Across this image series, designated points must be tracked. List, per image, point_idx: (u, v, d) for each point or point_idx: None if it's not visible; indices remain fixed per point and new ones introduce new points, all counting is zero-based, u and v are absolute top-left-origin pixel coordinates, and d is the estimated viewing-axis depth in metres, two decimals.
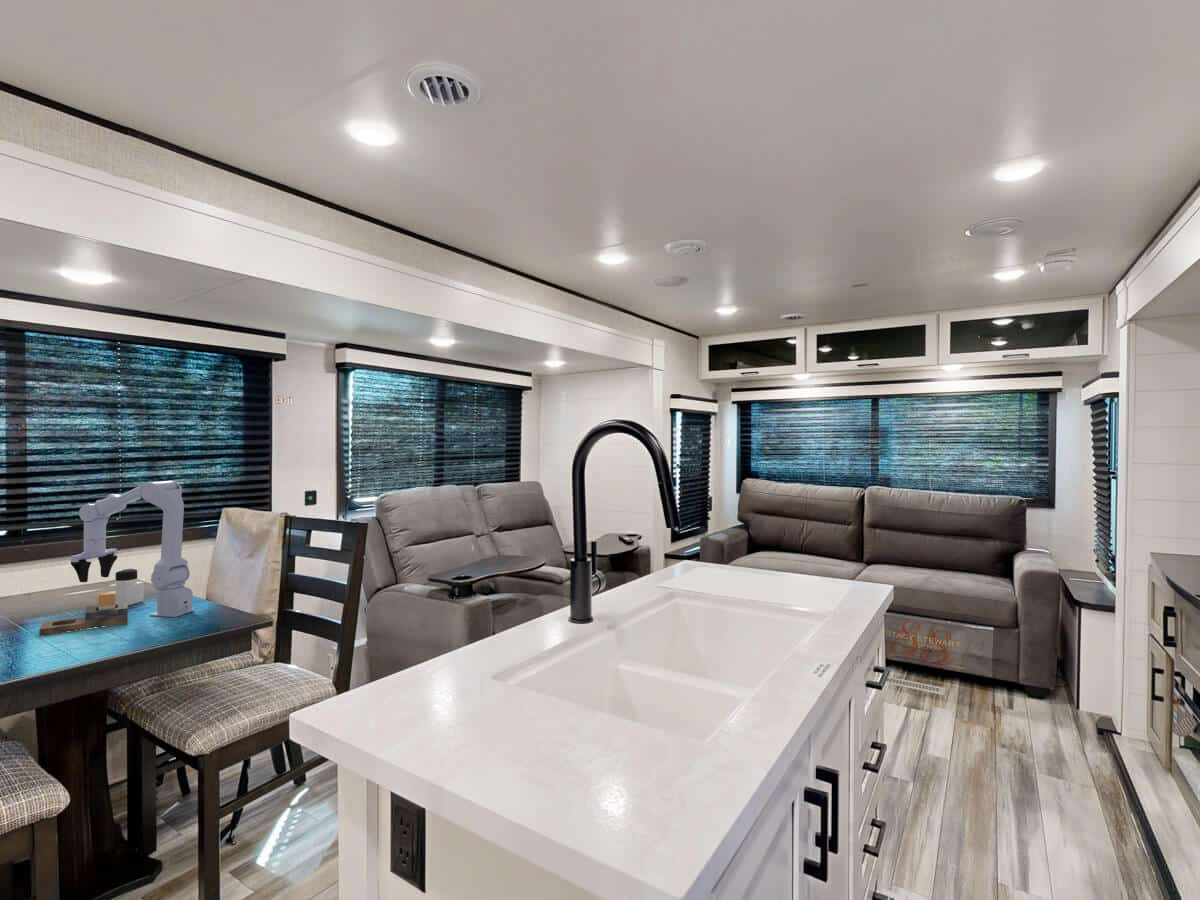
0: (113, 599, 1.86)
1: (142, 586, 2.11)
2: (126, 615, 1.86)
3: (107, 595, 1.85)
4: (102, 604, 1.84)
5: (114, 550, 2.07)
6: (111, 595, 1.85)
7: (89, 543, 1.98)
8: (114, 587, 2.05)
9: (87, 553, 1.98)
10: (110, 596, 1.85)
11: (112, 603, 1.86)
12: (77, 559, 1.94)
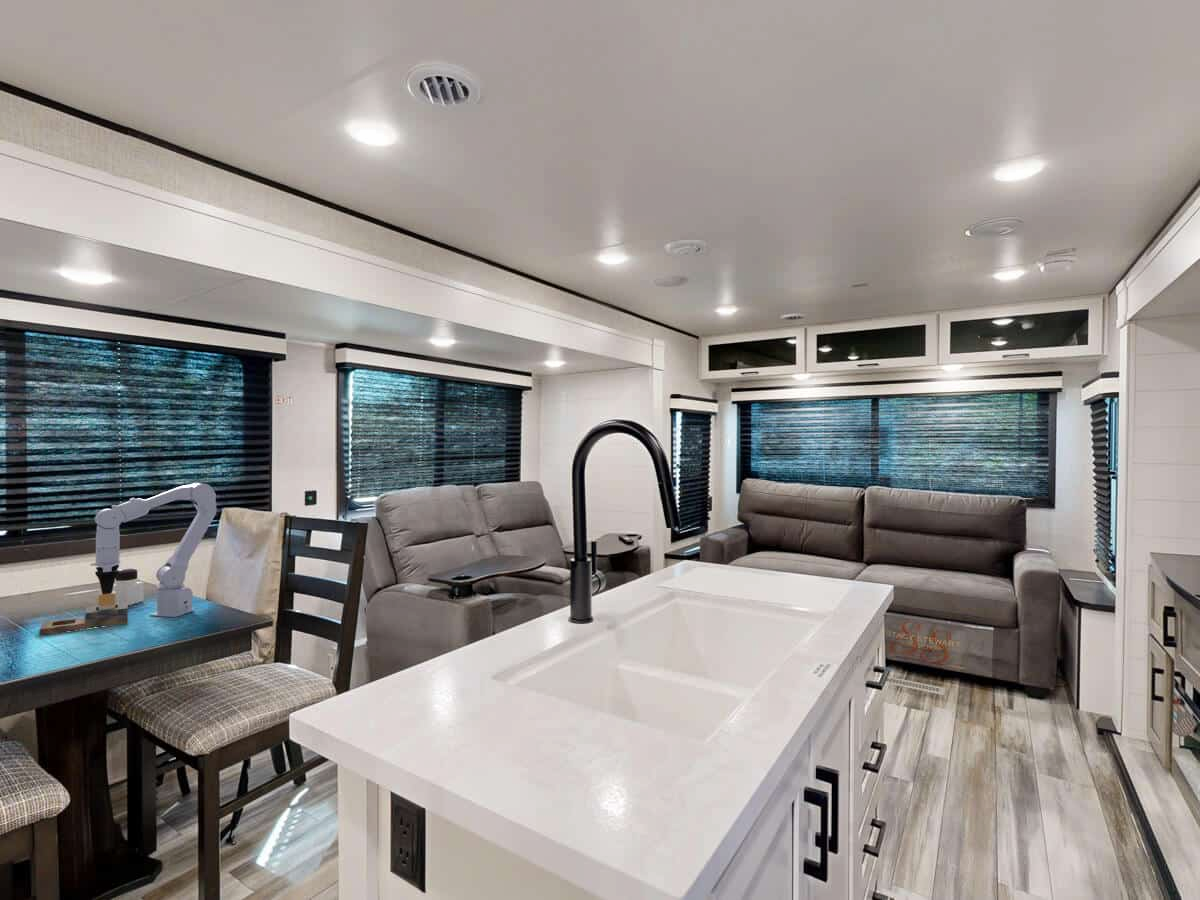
0: (113, 599, 1.86)
1: (142, 586, 2.11)
2: (126, 615, 1.86)
3: (107, 595, 1.85)
4: (102, 604, 1.84)
5: None
6: (111, 595, 1.85)
7: (111, 551, 1.85)
8: (114, 587, 2.05)
9: (108, 562, 1.84)
10: (110, 596, 1.85)
11: (112, 603, 1.86)
12: None
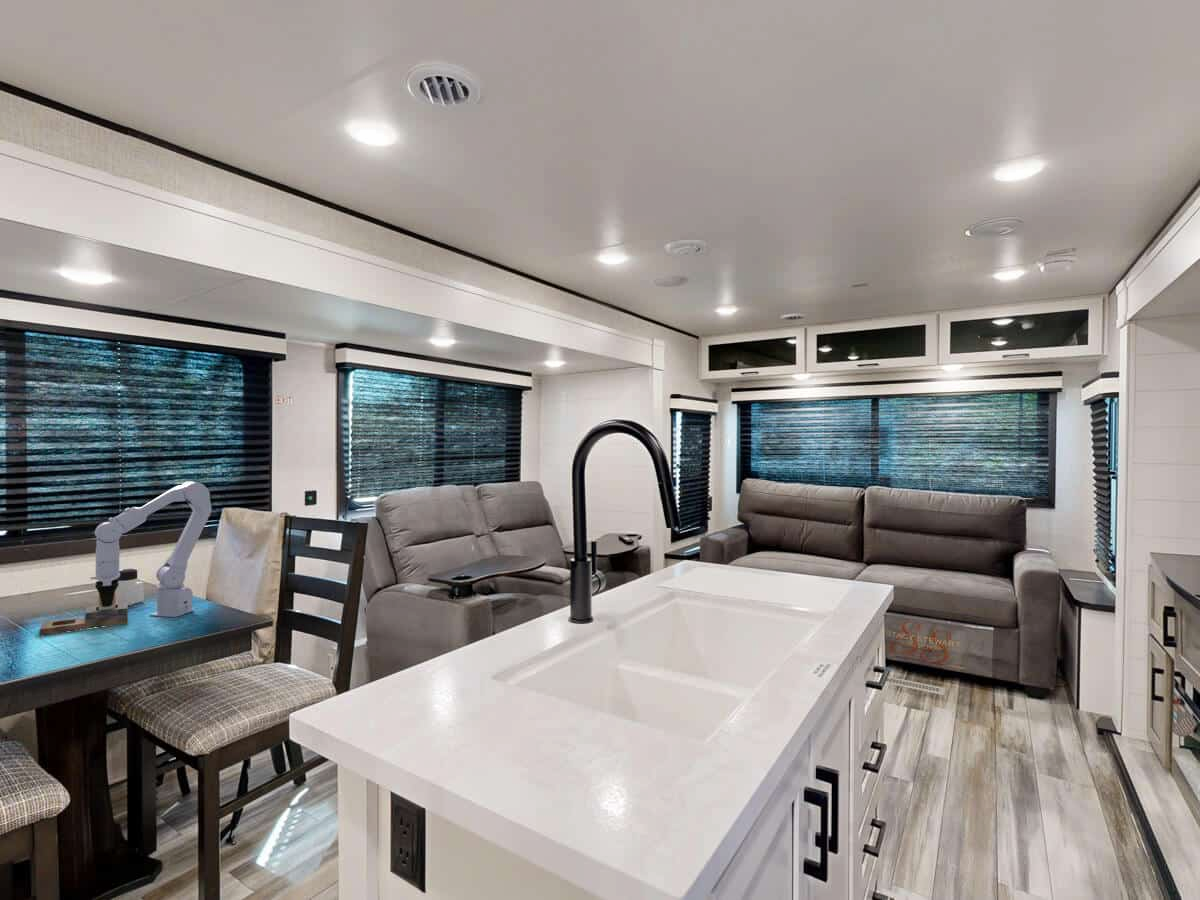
0: (113, 599, 1.86)
1: (142, 586, 2.11)
2: (126, 615, 1.86)
3: None
4: None
5: None
6: None
7: (111, 565, 1.85)
8: None
9: (108, 576, 1.84)
10: None
11: (112, 603, 1.86)
12: (111, 582, 1.81)
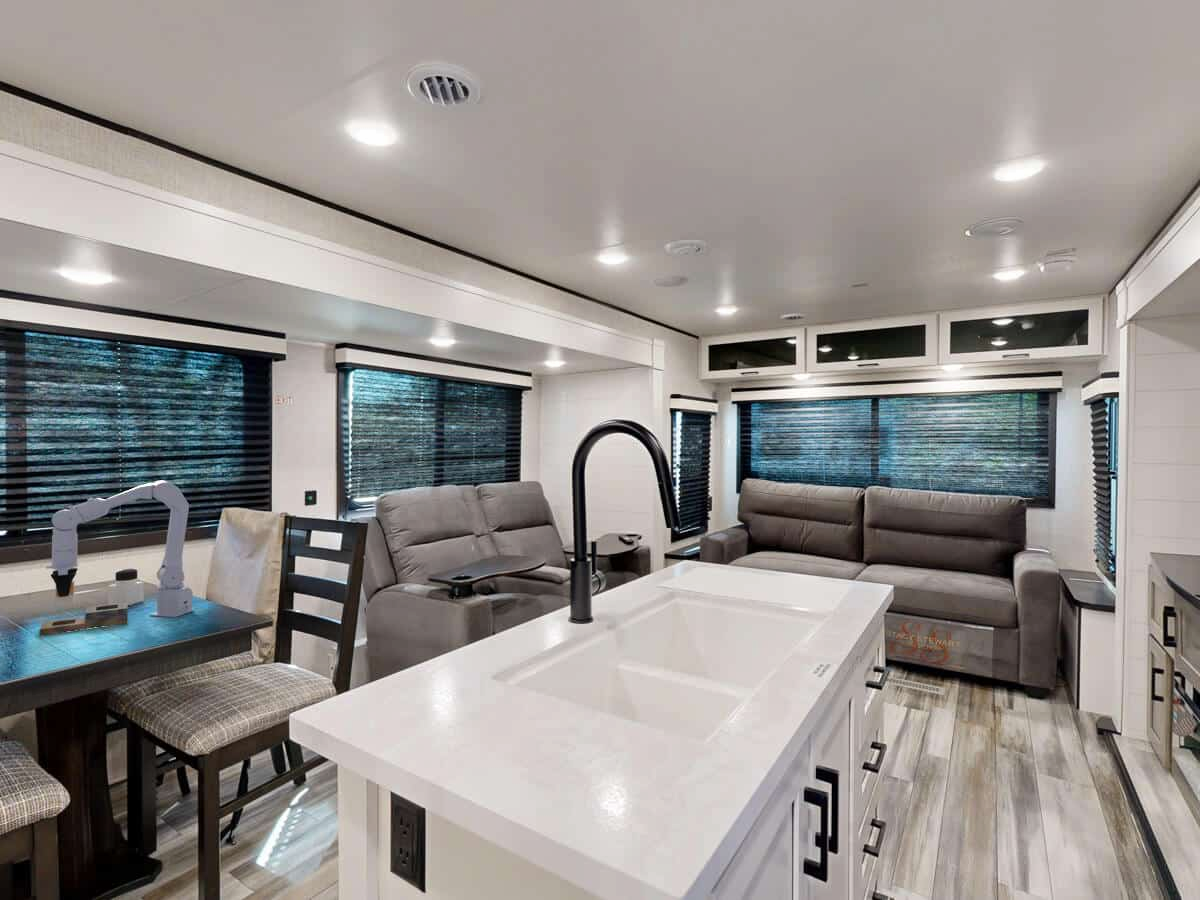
0: (71, 589, 1.79)
1: (142, 586, 2.11)
2: (126, 615, 1.86)
3: None
4: None
5: None
6: None
7: (67, 554, 1.78)
8: (114, 587, 2.05)
9: (65, 565, 1.78)
10: None
11: (70, 593, 1.79)
12: (67, 571, 1.75)
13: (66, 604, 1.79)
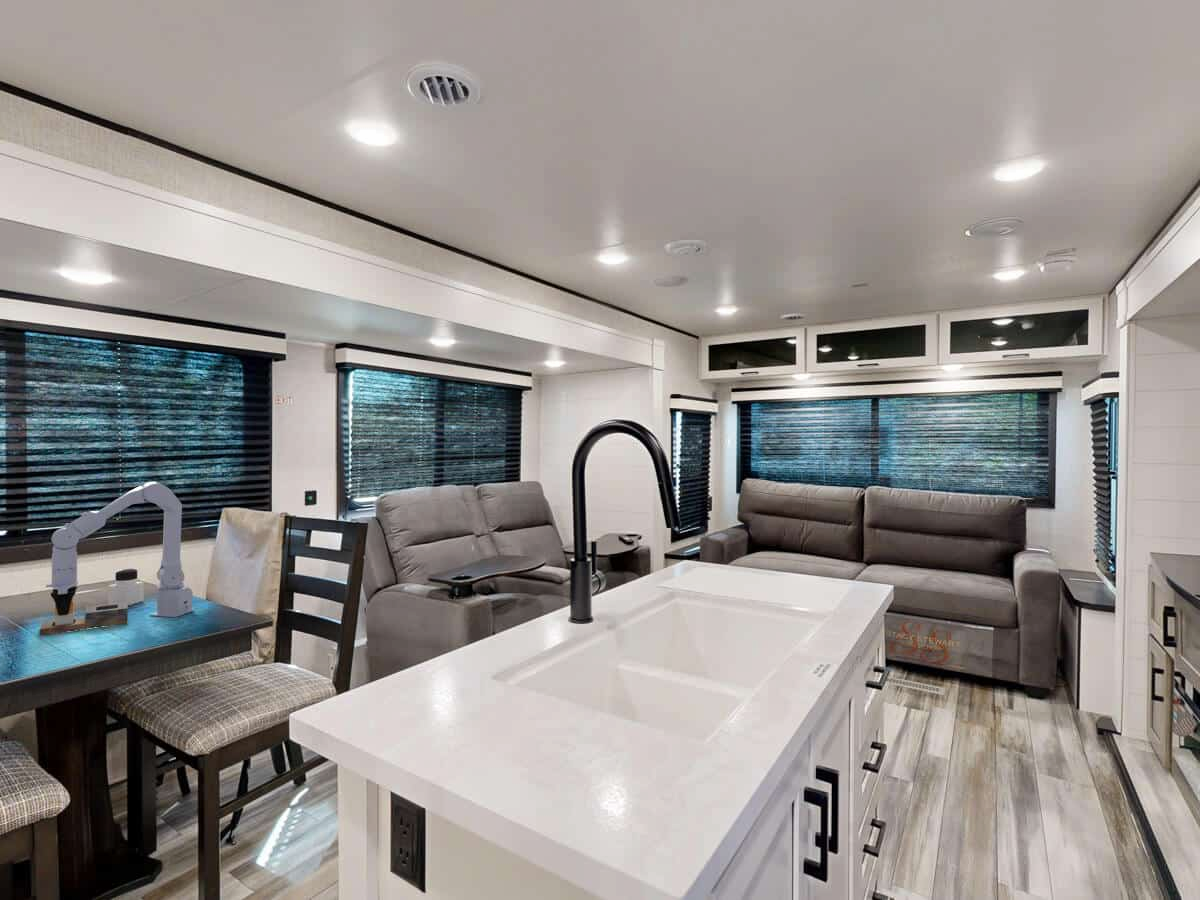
0: (71, 608, 1.79)
1: (142, 586, 2.11)
2: (126, 615, 1.86)
3: None
4: None
5: None
6: None
7: (67, 572, 1.78)
8: (114, 587, 2.05)
9: (65, 584, 1.78)
10: None
11: (70, 612, 1.79)
12: (67, 590, 1.75)
13: (66, 623, 1.79)
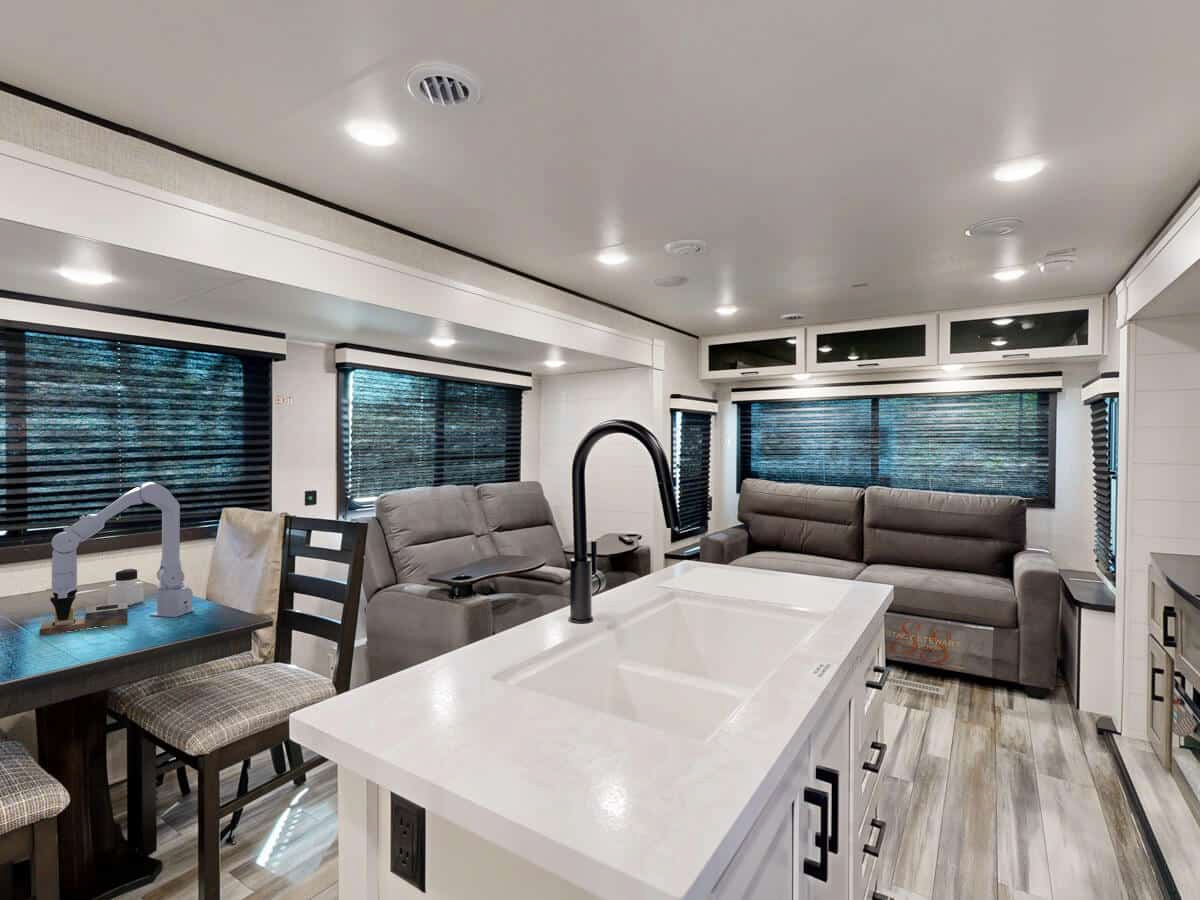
0: (71, 614, 1.79)
1: (142, 586, 2.11)
2: (126, 615, 1.86)
3: None
4: None
5: None
6: None
7: (67, 576, 1.78)
8: (114, 587, 2.05)
9: (65, 588, 1.78)
10: None
11: (70, 618, 1.79)
12: (67, 594, 1.75)
13: None
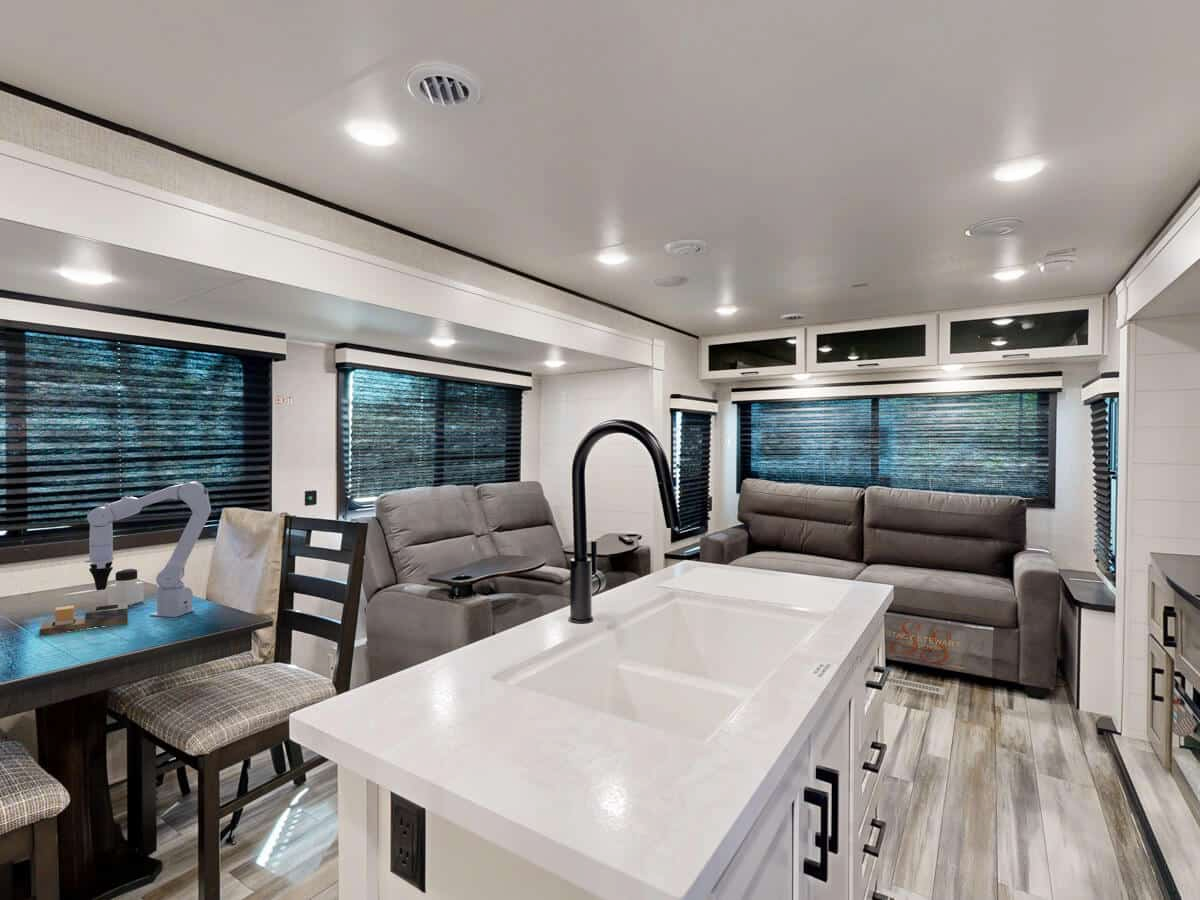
0: (71, 614, 1.79)
1: (142, 586, 2.11)
2: (126, 615, 1.86)
3: (64, 610, 1.79)
4: (59, 619, 1.78)
5: None
6: (68, 610, 1.79)
7: (104, 548, 1.88)
8: (114, 587, 2.05)
9: (102, 559, 1.88)
10: (67, 611, 1.79)
11: (70, 618, 1.79)
12: (105, 565, 1.85)
13: None
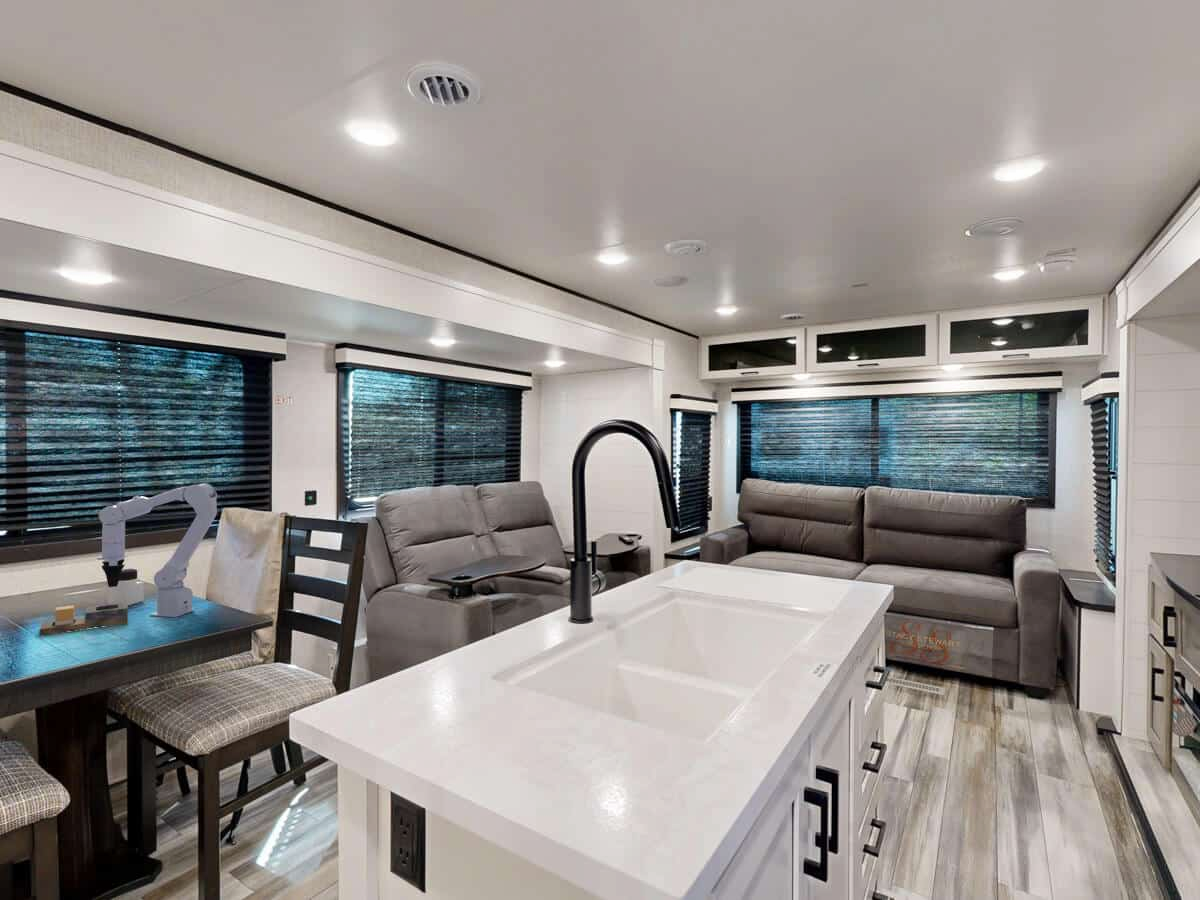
0: (71, 614, 1.79)
1: (142, 586, 2.11)
2: (126, 615, 1.86)
3: (64, 610, 1.79)
4: (59, 619, 1.78)
5: None
6: (68, 610, 1.79)
7: (116, 546, 1.92)
8: (114, 587, 2.05)
9: (114, 557, 1.92)
10: (67, 611, 1.79)
11: (70, 618, 1.79)
12: (117, 562, 1.89)
13: None
